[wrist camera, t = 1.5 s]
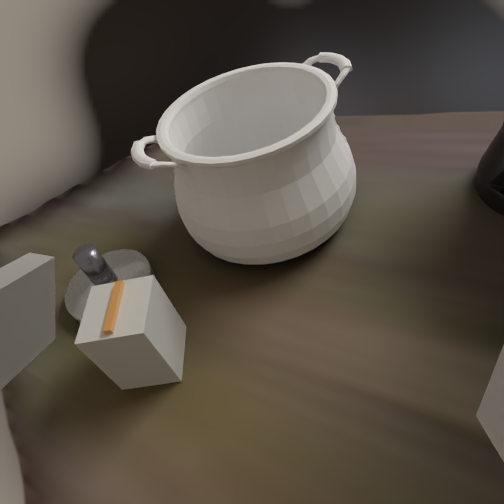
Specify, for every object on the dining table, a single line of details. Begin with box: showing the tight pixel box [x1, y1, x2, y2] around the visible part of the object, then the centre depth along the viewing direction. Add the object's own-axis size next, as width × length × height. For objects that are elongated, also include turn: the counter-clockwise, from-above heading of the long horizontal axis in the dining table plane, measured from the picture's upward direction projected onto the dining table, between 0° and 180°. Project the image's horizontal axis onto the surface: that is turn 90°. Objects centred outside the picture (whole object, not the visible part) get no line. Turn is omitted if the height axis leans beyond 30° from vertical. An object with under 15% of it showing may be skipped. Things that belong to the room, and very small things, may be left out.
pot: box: [131, 53, 356, 265], centre depth 55 cm, size 28×24×17 cm
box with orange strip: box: [74, 275, 187, 390], centre depth 45 cm, size 7×7×11 cm
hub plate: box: [65, 244, 155, 323], centre depth 54 cm, size 12×12×8 cm
